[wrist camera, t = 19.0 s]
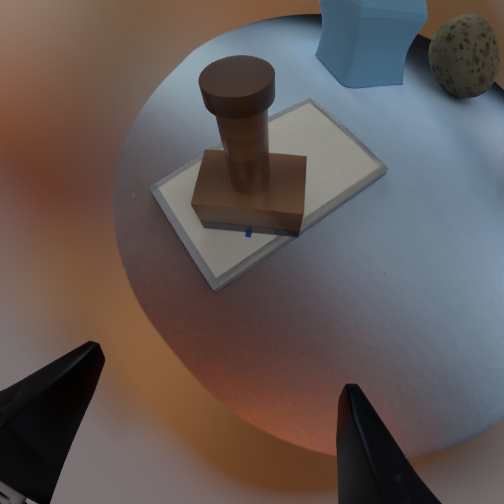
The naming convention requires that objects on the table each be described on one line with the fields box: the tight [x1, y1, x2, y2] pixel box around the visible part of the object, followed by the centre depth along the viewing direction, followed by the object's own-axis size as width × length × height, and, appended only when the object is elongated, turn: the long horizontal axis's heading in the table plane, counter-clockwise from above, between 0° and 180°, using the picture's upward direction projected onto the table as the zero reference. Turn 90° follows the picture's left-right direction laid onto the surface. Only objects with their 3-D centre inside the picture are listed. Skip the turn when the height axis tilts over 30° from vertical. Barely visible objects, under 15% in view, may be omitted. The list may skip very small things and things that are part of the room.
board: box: [150, 98, 388, 292], centre depth 26 cm, size 20×12×1 cm, turn 125°
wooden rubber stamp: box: [191, 55, 307, 237], centre depth 18 cm, size 5×8×14 cm, turn 82°
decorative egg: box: [429, 14, 500, 98], centre depth 24 cm, size 11×11×15 cm
